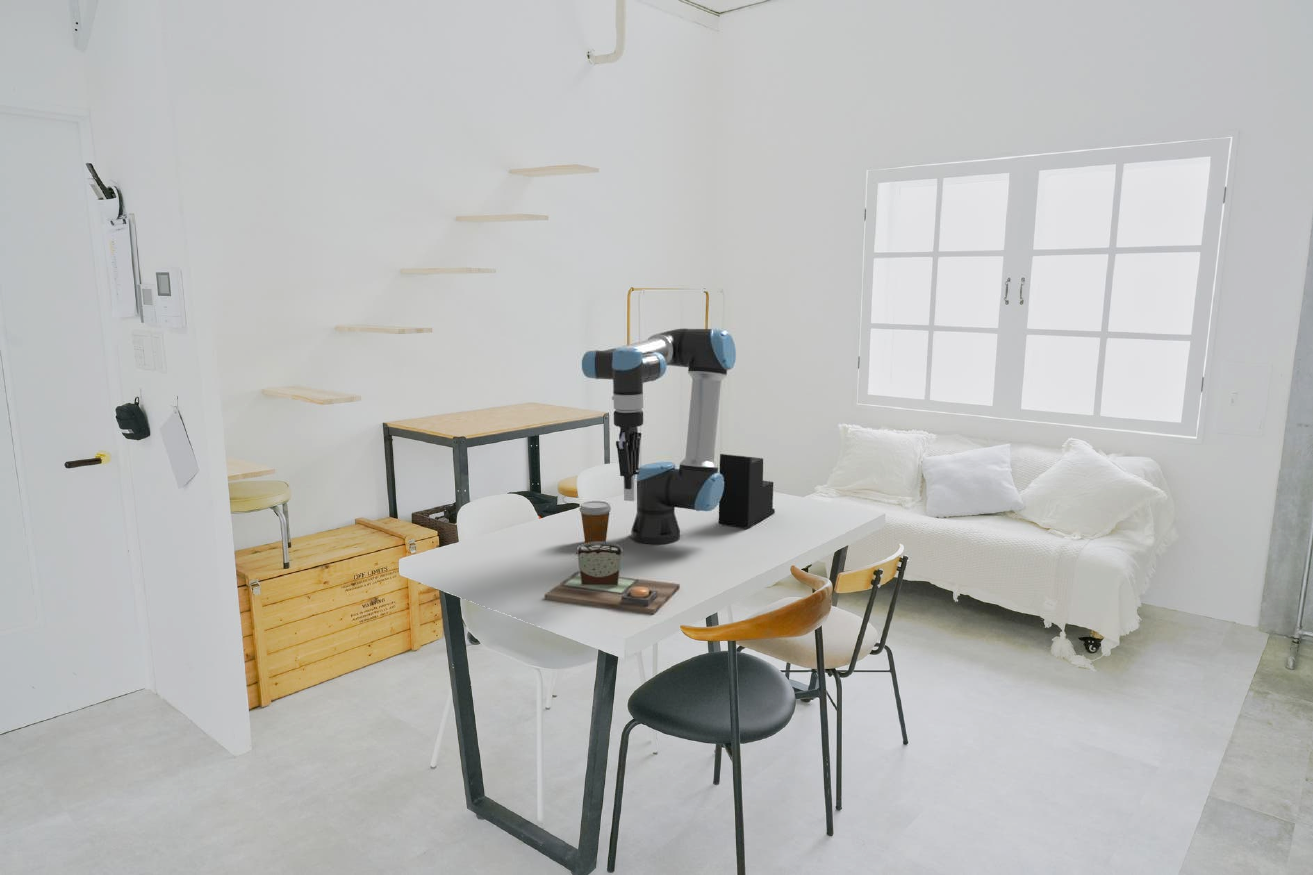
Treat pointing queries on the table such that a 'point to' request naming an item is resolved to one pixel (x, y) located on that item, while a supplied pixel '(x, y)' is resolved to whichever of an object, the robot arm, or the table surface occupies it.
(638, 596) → the button
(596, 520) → the disposable coffee cup
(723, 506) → the black stepped block
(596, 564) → the food container
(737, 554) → the table surface
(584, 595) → the picture board
